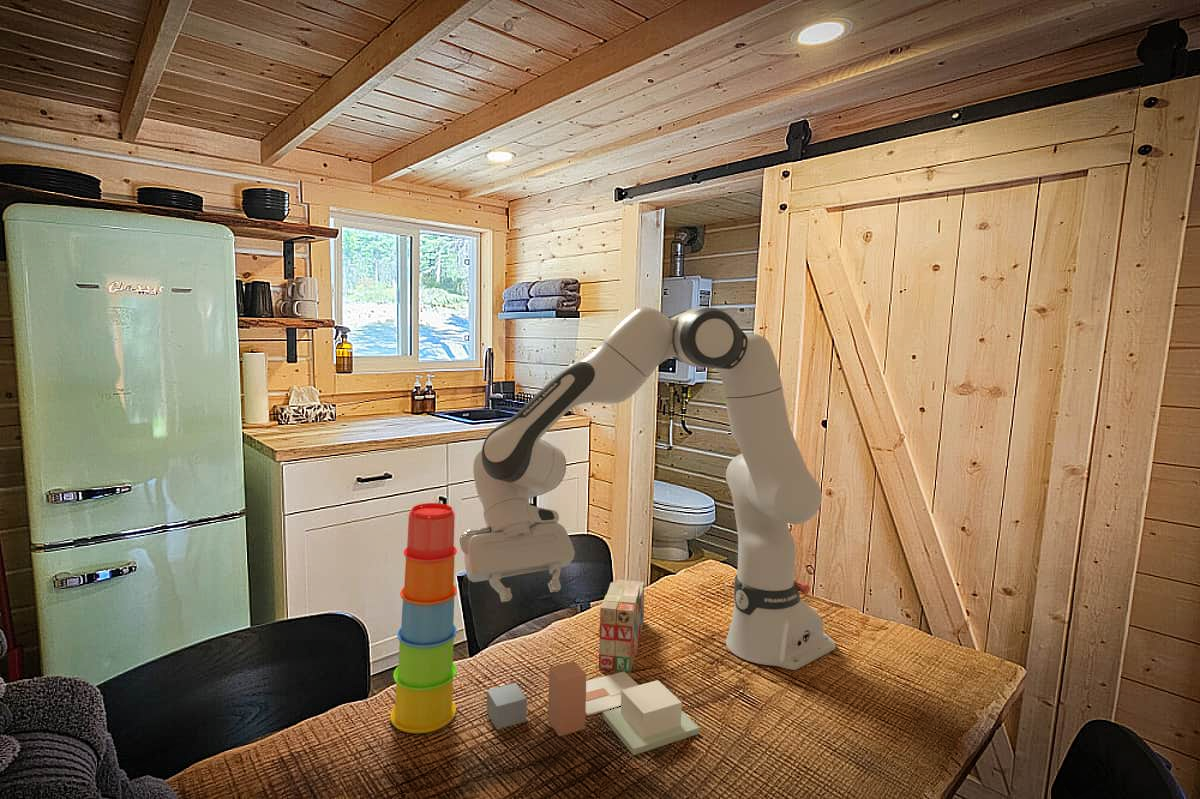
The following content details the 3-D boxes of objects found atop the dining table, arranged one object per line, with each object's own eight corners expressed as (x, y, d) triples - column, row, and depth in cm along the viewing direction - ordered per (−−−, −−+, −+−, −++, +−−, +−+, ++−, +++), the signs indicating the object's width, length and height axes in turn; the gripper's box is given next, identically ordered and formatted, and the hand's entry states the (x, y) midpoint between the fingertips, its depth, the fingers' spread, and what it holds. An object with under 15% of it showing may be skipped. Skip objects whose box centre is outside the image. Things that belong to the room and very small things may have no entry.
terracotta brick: (573, 713, 101) (574, 661, 100) (585, 728, 97) (586, 674, 96) (548, 720, 99) (548, 667, 98) (559, 736, 95) (560, 681, 94)
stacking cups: (442, 690, 107) (442, 495, 103) (466, 720, 98) (467, 509, 95) (382, 709, 101) (379, 503, 97) (402, 743, 92) (400, 519, 89)
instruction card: (624, 672, 114) (624, 670, 114) (650, 698, 106) (650, 696, 106) (565, 687, 108) (565, 685, 108) (587, 716, 100) (587, 713, 100)
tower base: (664, 700, 105) (665, 672, 105) (699, 733, 97) (700, 703, 96) (602, 718, 100) (603, 688, 99) (633, 755, 91) (634, 723, 91)
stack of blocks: (615, 619, 136) (617, 565, 135) (643, 622, 135) (645, 568, 134) (598, 669, 115) (599, 606, 114) (631, 673, 114) (633, 609, 113)
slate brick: (515, 705, 103) (515, 682, 103) (526, 721, 99) (526, 698, 98) (486, 713, 101) (487, 690, 100) (496, 730, 96) (496, 706, 96)
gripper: (461, 522, 106) (480, 598, 99) (564, 510, 117) (588, 578, 110) (452, 540, 111) (470, 613, 103) (552, 526, 122) (574, 592, 114)
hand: (532, 595), depth 107 cm, fingers open, 8 cm apart
